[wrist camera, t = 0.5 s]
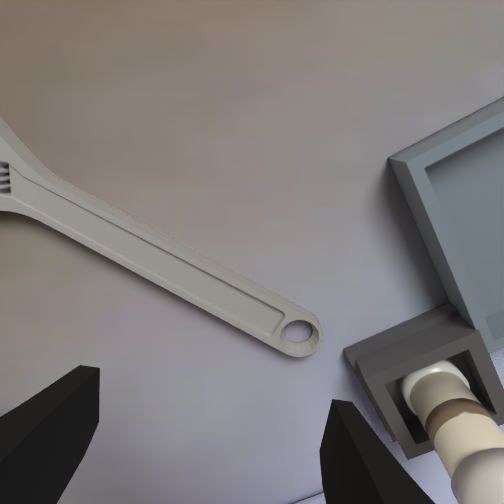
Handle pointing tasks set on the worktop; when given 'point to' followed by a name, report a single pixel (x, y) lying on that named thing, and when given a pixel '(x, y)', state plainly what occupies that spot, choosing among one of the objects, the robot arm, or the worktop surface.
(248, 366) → the worktop surface
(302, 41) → the worktop surface
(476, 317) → the parts tray
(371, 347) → the dark grey square holder
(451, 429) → the banded white capsule
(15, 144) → the adjustable wrench
